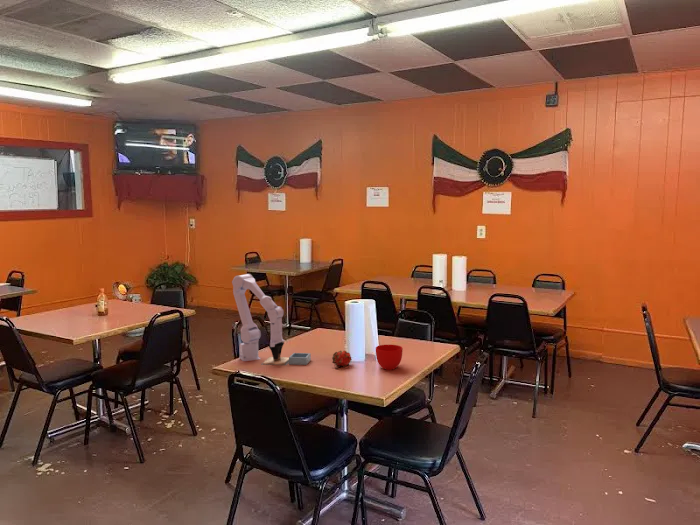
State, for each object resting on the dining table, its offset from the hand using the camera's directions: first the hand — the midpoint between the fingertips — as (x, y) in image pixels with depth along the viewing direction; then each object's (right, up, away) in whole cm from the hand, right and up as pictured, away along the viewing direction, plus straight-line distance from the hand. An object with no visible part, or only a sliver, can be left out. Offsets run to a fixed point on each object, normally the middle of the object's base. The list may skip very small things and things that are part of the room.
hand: (276, 357), depth 275 cm
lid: (0, -2, 0) cm, 2 cm away
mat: (0, -2, 0) cm, 2 cm away
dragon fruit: (+33, -3, -7) cm, 34 cm away
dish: (+12, -2, -2) cm, 12 cm away
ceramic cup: (+57, -3, -10) cm, 58 cm away
